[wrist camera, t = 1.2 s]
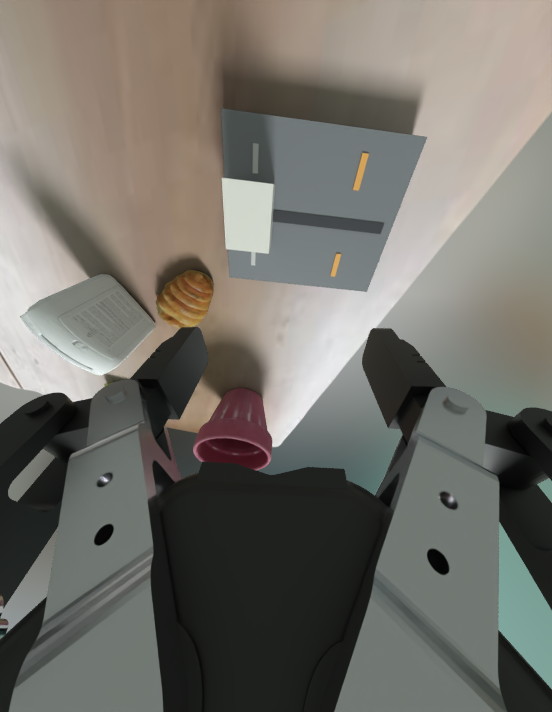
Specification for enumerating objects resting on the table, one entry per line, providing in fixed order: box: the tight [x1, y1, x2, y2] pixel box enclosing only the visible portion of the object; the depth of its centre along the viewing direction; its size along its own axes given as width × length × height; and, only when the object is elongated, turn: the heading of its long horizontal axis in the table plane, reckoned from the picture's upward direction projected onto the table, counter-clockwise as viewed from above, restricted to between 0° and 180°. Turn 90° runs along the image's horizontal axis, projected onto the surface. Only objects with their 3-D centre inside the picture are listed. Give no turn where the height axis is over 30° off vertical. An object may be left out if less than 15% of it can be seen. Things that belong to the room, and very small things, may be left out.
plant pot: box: [193, 388, 272, 470], centre depth 42 cm, size 14×14×13 cm
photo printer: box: [20, 274, 156, 376], centre depth 27 cm, size 10×4×12 cm, turn 24°
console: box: [221, 108, 427, 292], centre depth 23 cm, size 18×14×3 cm
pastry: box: [156, 270, 213, 329], centre depth 29 cm, size 9×7×4 cm
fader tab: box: [222, 178, 275, 254], centre depth 19 cm, size 4×5×5 cm
